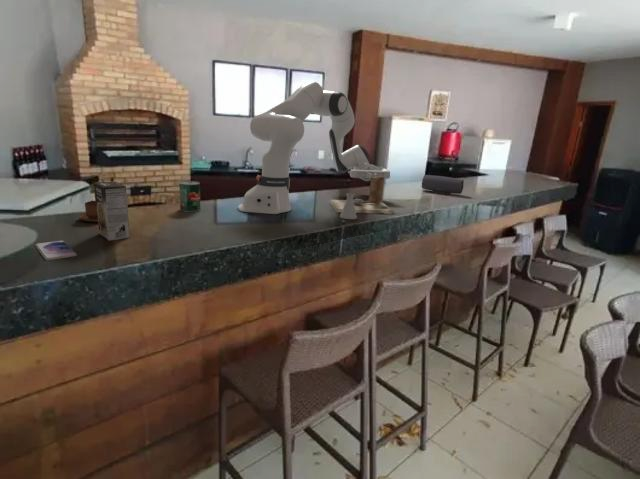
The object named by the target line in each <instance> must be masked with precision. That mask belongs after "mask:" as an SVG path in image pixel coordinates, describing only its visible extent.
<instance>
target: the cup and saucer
mask: <svg viewBox="0 0 640 479" xmlns="http://www.w3.org/2000/svg"><path fill="white" fill-rule="evenodd" d="M84 208H85V212H82V213H80V214H78V216H77V217H78V219H80V220H81V221H84V222H89V223H98V217H97V208H96V200H91V201H86V202H84Z"/></svg>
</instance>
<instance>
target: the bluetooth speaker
mask: <svg viewBox="0 0 640 479" xmlns="http://www.w3.org/2000/svg"><path fill="white" fill-rule="evenodd" d="M422 177H423V178H422V181H421V188H422V189H423V190H428V191H431V192H432V193H434V194H442V195H451V194H454V195H455V194H457V195H459V194H460V195H461V194H462V193H463V189H464V184H465V183H464V179H462V178H456V177H449V176H442V175H434V174H433V175H432V174H424V175H423V176H422Z"/></svg>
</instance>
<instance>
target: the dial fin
mask: <svg viewBox="0 0 640 479" xmlns="http://www.w3.org/2000/svg"><path fill="white" fill-rule="evenodd" d="M384 183H385V179H384V177H371V180H370V185H369V193H368V195H369V196H368V200H363V199H362V198H361V199H360V198H353V200H354V201H353V204H354V205H362V204H367V203H381V202H382V203H383V194H384V193H383V192H384V185H385V184H384Z"/></svg>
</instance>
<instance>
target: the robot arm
mask: <svg viewBox="0 0 640 479" xmlns="http://www.w3.org/2000/svg"><path fill="white" fill-rule="evenodd" d="M310 115H317V116H323V117H330V119H331V128H330V129H329V132H328V133H329V135H328V136H329V142H330V147H331V154H332V161H333V162H332V163H333V166H334V169H335V171H336V172H338V173H341V174H345V173H346V172H347V173H348V174H349V176H350V178H353V179H361V180H362V181H365V182H371V177H384V180H388V179H390V177H391V171H390V170H388V169H386V168H384V166H381V165H380V166H379V165H374V164H372V163H371V164H370V159H371V158H370V155H369V154H370V153H368V151H367V149H366V148H365V147H364V146H362V145H360V144H356V145H354V146H352V147H351V148H348V149H347V150H345V151H343V152H342V151H341V150H342V149H341V144H340V143H341V142H342V140H343V139H344V137H345V136H347V134H348V133H349V132H351V130H352V129H353V128H354V125H355V122H356V121H355V119H356V118H355V114H354V111H353V107H352V105H351V102H350V101H349V99H348V97H347V96H346V94H345V93H343V92H341V91H337V90H336V91H334V90H327V89H326V90H325V89H323V87H322V85H321V84H320V83H318V82H317V81H313V80H311V81H308V82H305V83H304V84H303V85H301V86H300V87H298V88H297V89H296V90H295V91H293V93H292V94H291V95H290V96H288V97H287V98H286V99H285V100H283V102H281V103H279V104H277V105H275V106H274V107H272V108H270V109H268V110H267V111H264V112H262V113H260V114H257V115H254V117H252V118H251V120H250V126H249V128H250V133H251V134H252V136H253V137H254V138H256V139H259V140H261V141H263V142H270V143H271V144H270V148H269V150H268V151H267V152H265V153H264V155H263V156H262V160H261V161H262V165H261V166H262V167H261V169H262V170H261V175H259V174H257V176H256V178H255V179H256V185H254V186H253V187H251V188H250V189H248V190H247V191H246V192H245V194H244V196H243V202H241V203H240V204H238V206H237V209H238V211H239V212H241V213H242V212H244V213H254V214H255V213H256V214H257V213H258V214H269V215H271V214H272V215H277V214H281V213H286V212H287V213H288V212H290V211H291V210H292V208H291V203H290V194H289V193H290V192H289V189H290V184H291V183H290V182H291V180H290V179H291V178H290V176H289V175H290V174H289V171H290V170H289V169H290V159H291V155H292V152H293V150H294V148H295V146H296V145H297V144H298V143H299V142H300V141H301V140H302V139H303V137H304V133H305V125H304V121H305V120H306V119H307V118H308V117H309V116H310Z"/></svg>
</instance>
